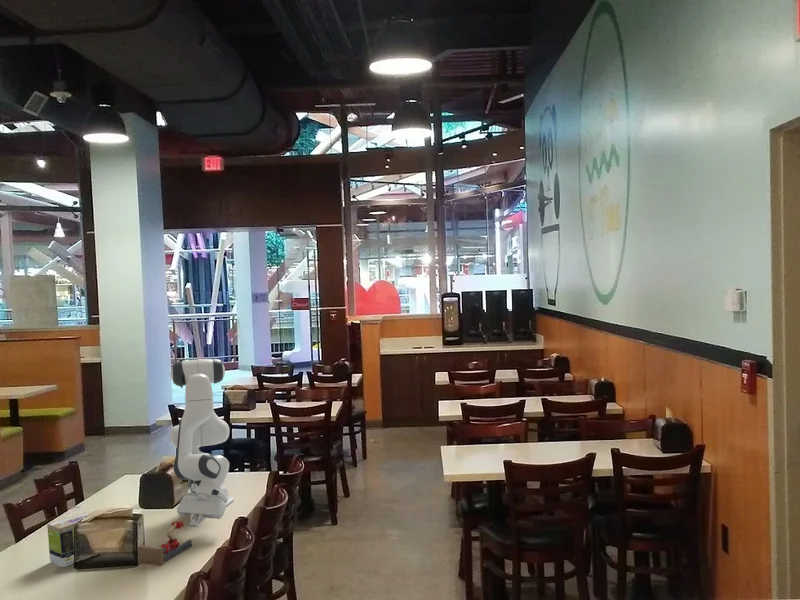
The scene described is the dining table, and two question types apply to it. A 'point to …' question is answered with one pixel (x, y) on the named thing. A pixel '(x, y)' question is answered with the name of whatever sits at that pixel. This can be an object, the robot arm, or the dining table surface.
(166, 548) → the red beige jointed figure
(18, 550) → the dining table surface
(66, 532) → the tea box
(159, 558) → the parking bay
